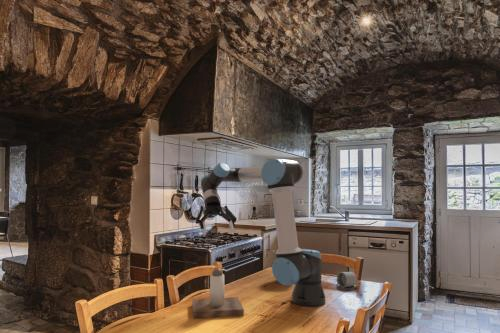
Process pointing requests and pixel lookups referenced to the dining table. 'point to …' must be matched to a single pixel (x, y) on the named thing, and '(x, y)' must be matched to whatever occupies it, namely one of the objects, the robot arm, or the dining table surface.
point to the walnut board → (217, 308)
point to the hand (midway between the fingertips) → (219, 233)
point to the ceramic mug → (346, 279)
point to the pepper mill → (217, 288)
